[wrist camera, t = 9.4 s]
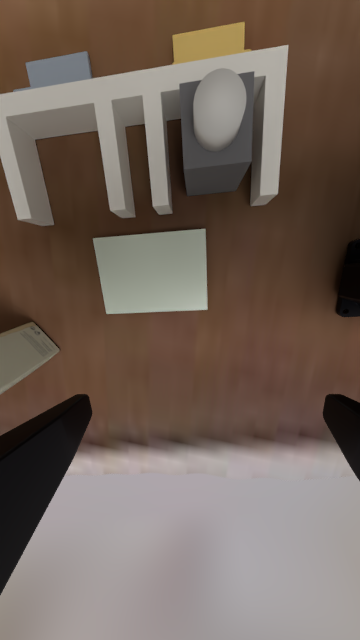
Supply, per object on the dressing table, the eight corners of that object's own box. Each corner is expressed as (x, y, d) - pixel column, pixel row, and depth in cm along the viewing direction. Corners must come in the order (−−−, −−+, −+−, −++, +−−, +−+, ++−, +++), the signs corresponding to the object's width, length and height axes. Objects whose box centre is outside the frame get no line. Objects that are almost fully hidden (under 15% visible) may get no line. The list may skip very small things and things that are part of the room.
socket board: (275, 21, 12) (294, -37, 10) (265, 204, 15) (277, 193, 13) (4, 71, 14) (-34, 32, 12) (42, 226, 17) (17, 219, 15)
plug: (236, 130, 14) (263, 40, 9) (235, 191, 15) (259, 147, 10) (184, 138, 15) (176, 56, 9) (187, 196, 16) (182, 157, 10)
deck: (205, 229, 16) (205, 228, 16) (207, 308, 18) (207, 309, 18) (96, 239, 17) (92, 238, 17) (109, 312, 19) (106, 313, 19)
